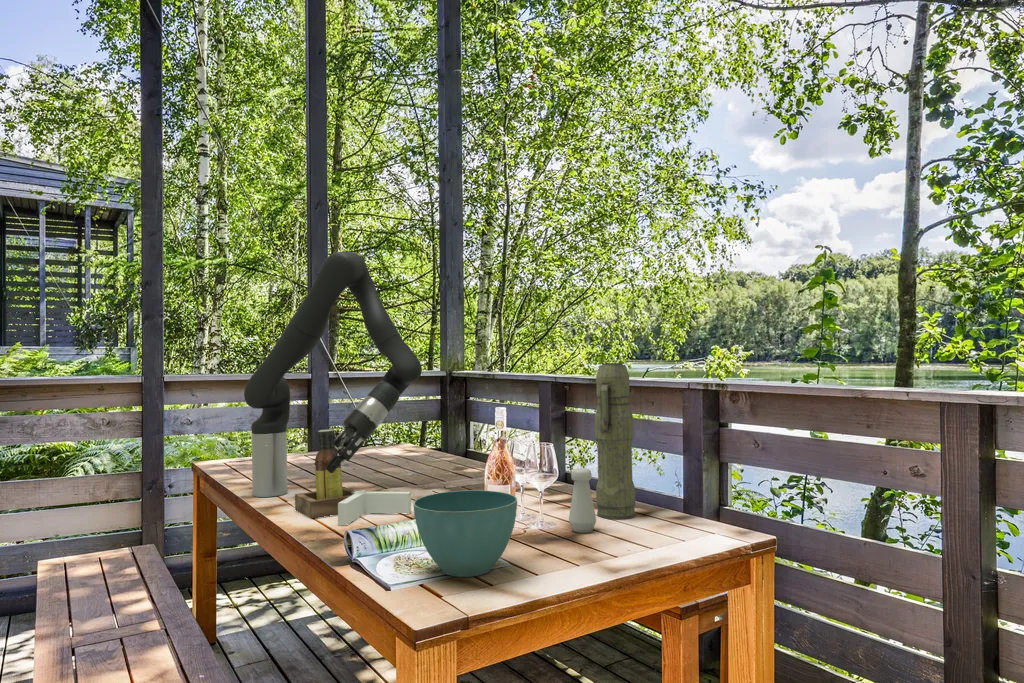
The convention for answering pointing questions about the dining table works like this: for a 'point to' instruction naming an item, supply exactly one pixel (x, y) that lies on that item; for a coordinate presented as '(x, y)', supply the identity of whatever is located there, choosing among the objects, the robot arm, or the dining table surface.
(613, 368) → the thermos
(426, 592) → the dining table surface
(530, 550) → the dining table surface
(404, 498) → the v block
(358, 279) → the robot arm
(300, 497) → the collar
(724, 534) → the dining table surface
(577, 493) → the salt shaker
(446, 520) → the plant pot
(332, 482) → the sauce bottle
